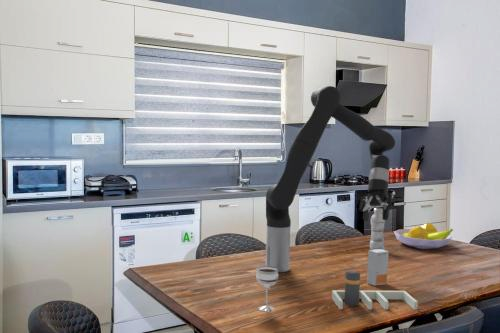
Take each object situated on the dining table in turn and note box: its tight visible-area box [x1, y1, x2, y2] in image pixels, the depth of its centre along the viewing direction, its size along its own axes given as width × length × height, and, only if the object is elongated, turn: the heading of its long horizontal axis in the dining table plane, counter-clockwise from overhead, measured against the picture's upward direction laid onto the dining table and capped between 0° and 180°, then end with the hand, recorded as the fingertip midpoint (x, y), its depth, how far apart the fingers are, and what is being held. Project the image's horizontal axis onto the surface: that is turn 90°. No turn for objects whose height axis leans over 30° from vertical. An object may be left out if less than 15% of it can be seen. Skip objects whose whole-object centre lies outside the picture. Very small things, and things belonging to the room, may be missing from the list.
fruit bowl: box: [393, 222, 454, 250], centre depth 228 cm, size 28×27×11 cm
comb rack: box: [331, 289, 418, 311], centre depth 145 cm, size 24×10×2 cm, turn 93°
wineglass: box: [255, 265, 279, 313], centre depth 139 cm, size 7×7×12 cm
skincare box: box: [366, 249, 389, 286], centre depth 166 cm, size 6×4×12 cm
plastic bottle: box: [369, 207, 386, 250], centre depth 216 cm, size 6×7×20 cm
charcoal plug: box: [343, 270, 361, 307], centre depth 144 cm, size 5×5×10 cm
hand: (375, 220), depth 179 cm, fingers open, 8 cm apart
